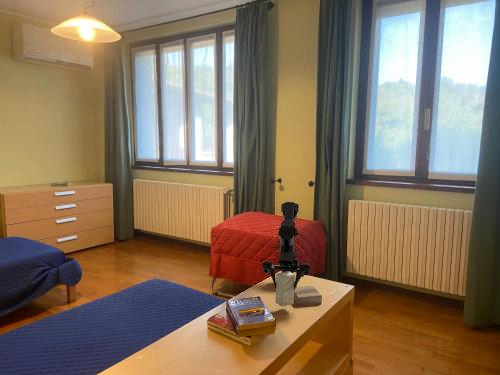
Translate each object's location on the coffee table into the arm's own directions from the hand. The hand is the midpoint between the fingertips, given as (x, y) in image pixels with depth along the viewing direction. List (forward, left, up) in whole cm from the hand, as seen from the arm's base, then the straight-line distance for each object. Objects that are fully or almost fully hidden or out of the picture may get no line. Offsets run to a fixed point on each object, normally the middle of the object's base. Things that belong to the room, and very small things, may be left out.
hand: (284, 288), depth 147 cm
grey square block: (-8, +13, -10) cm, 18 cm away
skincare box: (-1, +1, -7) cm, 7 cm away
